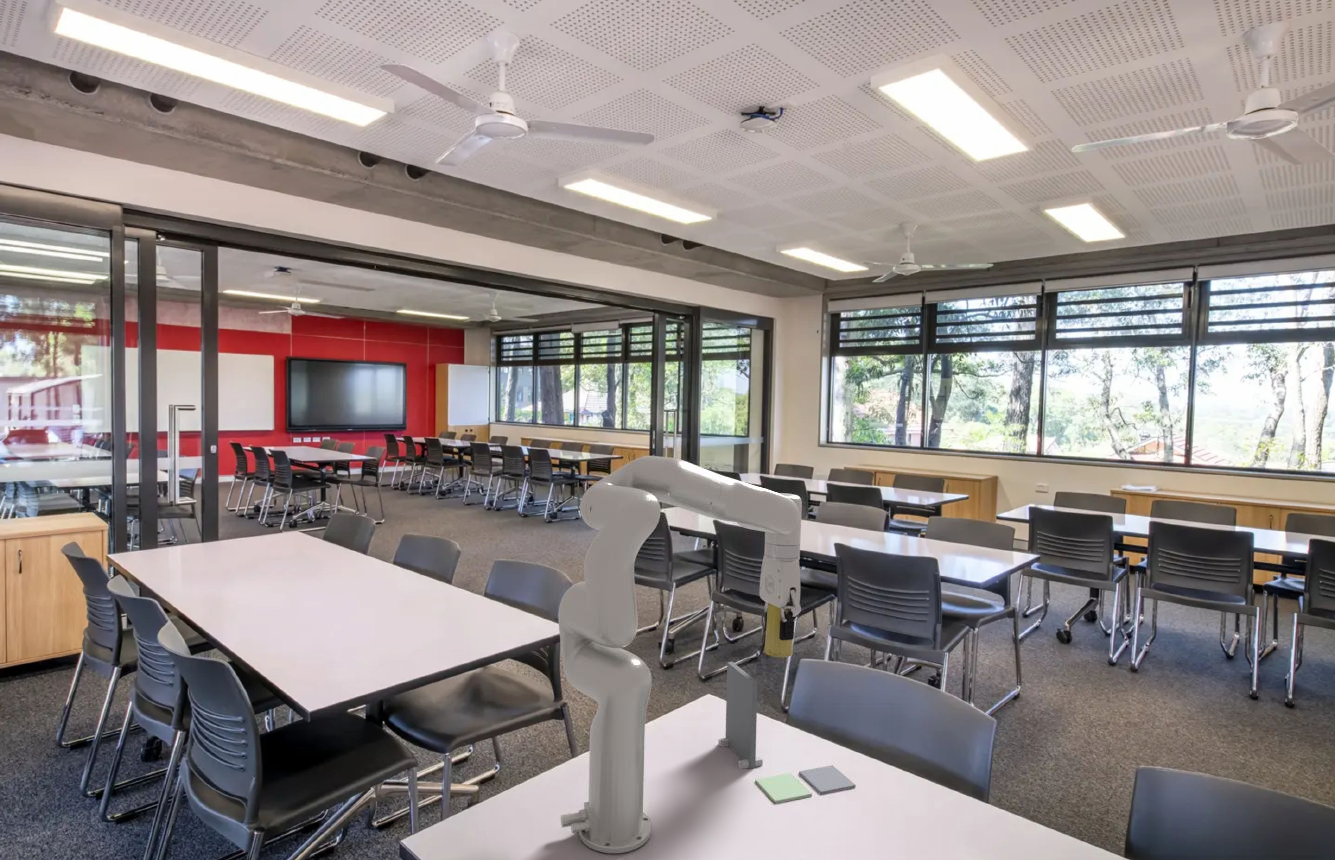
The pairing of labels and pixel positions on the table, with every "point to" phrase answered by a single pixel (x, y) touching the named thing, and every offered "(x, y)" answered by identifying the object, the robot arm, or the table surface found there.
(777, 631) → the vase
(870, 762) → the table surface
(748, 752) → the screen
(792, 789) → the pad sage
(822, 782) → the pad slate
